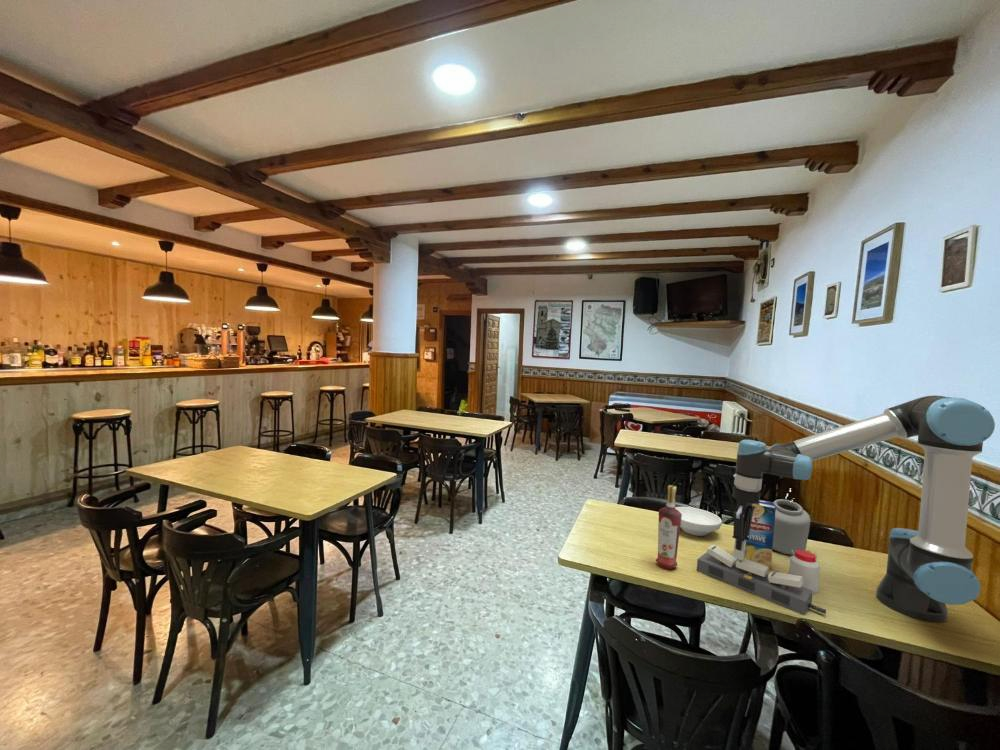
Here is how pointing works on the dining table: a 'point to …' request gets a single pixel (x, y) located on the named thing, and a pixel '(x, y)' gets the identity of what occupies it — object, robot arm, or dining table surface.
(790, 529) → the jar
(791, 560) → the pill bottle
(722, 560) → the rocker
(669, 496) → the liquor
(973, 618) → the dining table surface
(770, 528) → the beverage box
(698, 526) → the bowl
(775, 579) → the block
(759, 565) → the rocker
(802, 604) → the rocker switch panel
